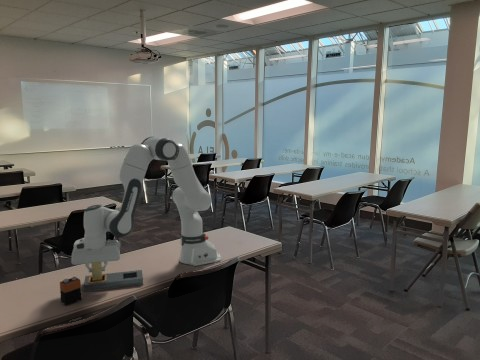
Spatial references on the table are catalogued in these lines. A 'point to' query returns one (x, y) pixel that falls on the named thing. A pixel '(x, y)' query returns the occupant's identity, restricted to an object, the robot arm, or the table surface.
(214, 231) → the table surface
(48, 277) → the table surface
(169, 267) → the table surface
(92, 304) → the table surface
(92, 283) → the grey socket board
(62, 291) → the battery
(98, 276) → the brass block
